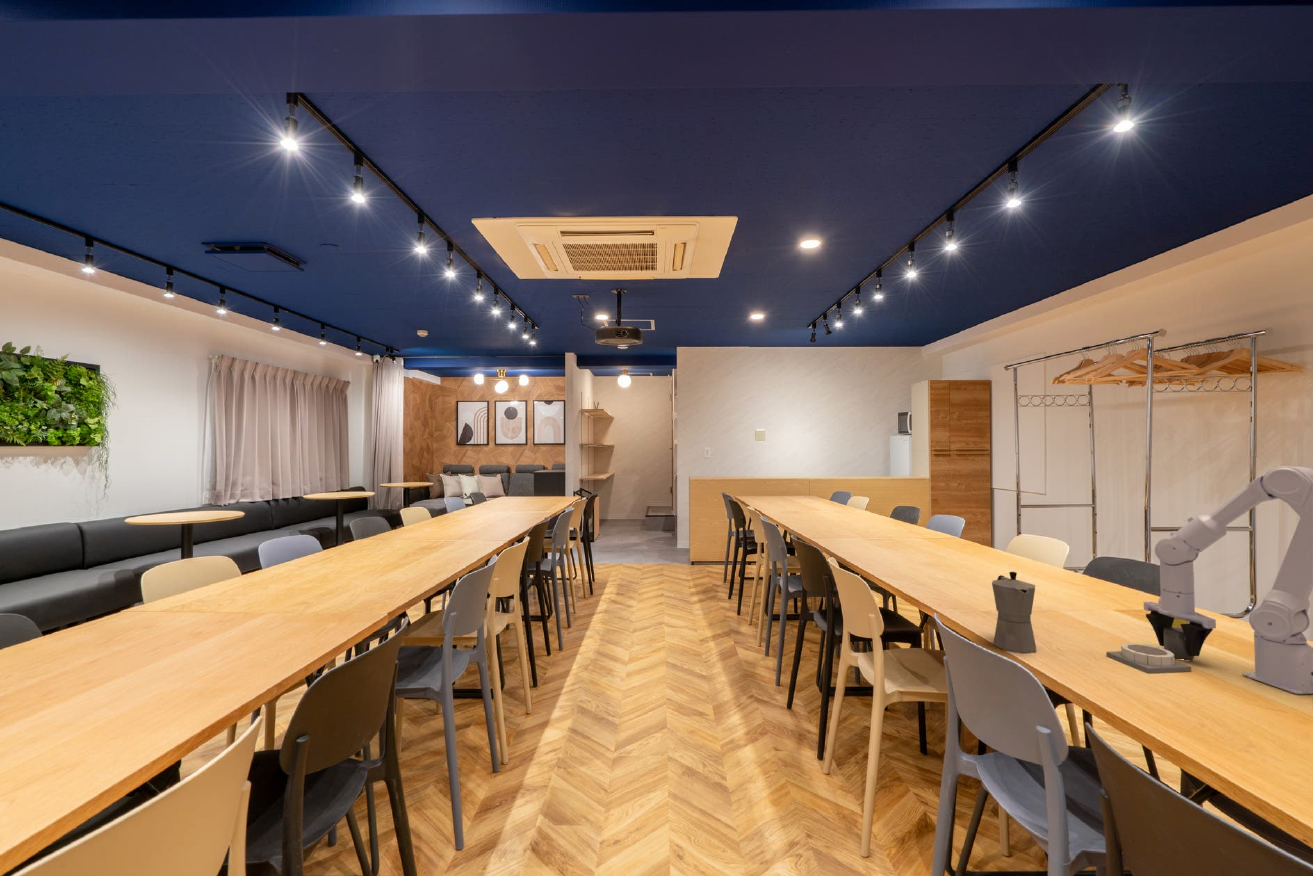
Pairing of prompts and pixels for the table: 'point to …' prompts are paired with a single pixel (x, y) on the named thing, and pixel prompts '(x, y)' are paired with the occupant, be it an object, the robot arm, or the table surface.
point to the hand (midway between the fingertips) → (1178, 650)
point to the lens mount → (1148, 658)
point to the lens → (1176, 643)
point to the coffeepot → (1014, 614)
